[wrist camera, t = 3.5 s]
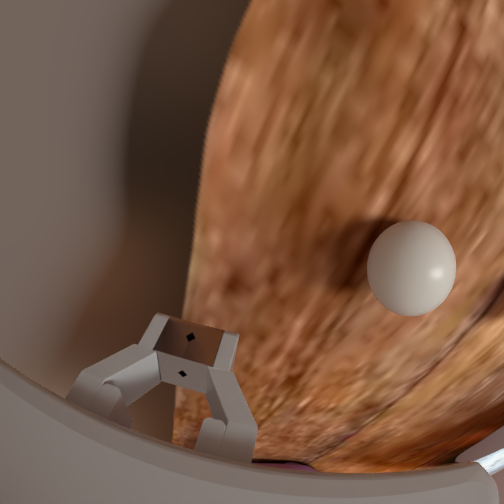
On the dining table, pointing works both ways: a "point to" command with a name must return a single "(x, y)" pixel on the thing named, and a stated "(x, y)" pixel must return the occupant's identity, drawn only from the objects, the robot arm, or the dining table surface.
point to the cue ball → (411, 268)
